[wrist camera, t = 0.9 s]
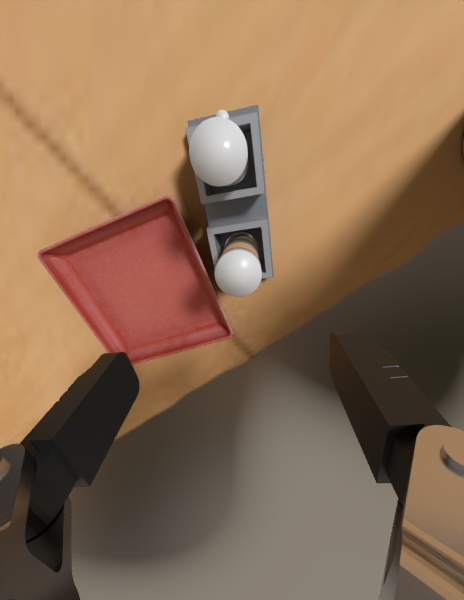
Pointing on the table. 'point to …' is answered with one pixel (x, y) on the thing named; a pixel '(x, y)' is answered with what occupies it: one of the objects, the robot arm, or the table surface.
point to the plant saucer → (140, 283)
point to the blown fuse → (239, 265)
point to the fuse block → (238, 193)
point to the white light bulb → (219, 152)
